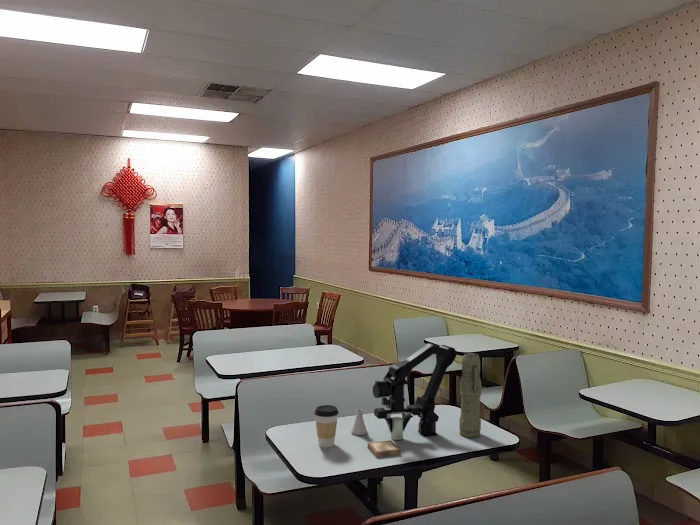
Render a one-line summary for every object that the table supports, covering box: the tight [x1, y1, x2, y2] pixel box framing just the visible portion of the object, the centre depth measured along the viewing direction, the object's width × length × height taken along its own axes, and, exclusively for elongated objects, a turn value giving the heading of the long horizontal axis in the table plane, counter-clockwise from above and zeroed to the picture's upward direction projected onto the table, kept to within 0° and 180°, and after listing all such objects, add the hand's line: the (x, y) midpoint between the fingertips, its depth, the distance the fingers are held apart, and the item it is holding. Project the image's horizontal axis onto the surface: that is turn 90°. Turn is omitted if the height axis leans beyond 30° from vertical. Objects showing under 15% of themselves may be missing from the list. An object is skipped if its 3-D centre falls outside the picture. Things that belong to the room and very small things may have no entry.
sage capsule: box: [390, 416, 404, 441], centre depth 236 cm, size 5×5×8 cm
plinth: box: [367, 439, 401, 458], centre depth 223 cm, size 10×10×2 cm
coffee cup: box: [313, 404, 339, 448], centre depth 229 cm, size 10×10×15 cm
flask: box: [350, 408, 368, 436], centre depth 243 cm, size 7×7×10 cm
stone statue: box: [458, 352, 482, 439], centre depth 241 cm, size 9×12×35 cm
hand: (396, 431), depth 236 cm, fingers closed on sage capsule, 5 cm apart
